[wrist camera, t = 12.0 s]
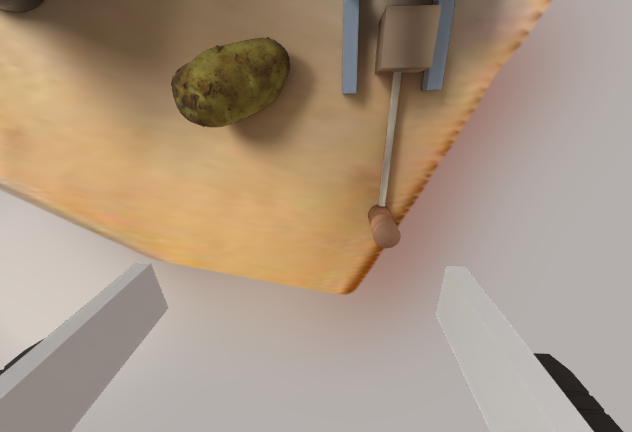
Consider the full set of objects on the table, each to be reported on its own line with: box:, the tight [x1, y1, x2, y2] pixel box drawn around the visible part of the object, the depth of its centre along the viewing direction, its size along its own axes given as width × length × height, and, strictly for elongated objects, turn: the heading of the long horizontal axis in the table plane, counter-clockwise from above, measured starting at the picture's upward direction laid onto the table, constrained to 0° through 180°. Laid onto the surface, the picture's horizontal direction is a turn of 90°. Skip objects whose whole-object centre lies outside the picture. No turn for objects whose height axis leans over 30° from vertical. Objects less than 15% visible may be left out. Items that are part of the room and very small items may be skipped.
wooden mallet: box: [368, 5, 442, 248], centre depth 30 cm, size 5×25×7 cm, turn 0°
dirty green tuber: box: [171, 37, 290, 127], centre depth 28 cm, size 8×13×8 cm, turn 97°
